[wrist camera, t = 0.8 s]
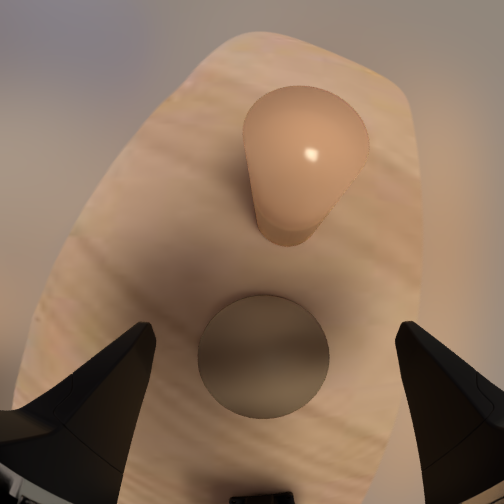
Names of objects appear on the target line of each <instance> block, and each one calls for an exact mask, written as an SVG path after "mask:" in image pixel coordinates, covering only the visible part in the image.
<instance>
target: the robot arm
mask: <svg viewBox="0 0 504 504" xmlns="http://www.w3.org/2000/svg"><path fill="white" fill-rule="evenodd" d="M395 345H396V350H397V356H398V361H399V367H400V373H401V378H402V382H403V386H404V390H405V393H406V397H407V401H408V405H409V409H410V413H411V418H412V422H413V427H414V432H415V436H416V441H417V447H418V452H419V458H420V463H421V470H422V479H423V486H424V495H425V504H504V391H502V390H501V389H500V388H498V387H497V386H495V385H494V384H493V383H491V382H490V381H489V380H487V379H486V378H485V377H484V376H482V375H481V374H480V373H479V372H477V371H476V370H475V369H474V368H473V367H471V366H470V365H469V364H468V363H466V362H465V361H464V360H462V359H461V358H460V357H459V356H458V355H456V354H455V353H454V352H452V351H451V350H450V349H449V348H447V347H446V346H445V345H444V344H442V343H441V342H439V341H438V340H437V339H436V338H434V337H433V336H432V335H431V334H429V333H428V332H426V331H425V330H424V329H423V328H421V327H420V326H419V325H417V324H416V323H415V322H413V321H405V322H402V323H401V325H400V328H399V331H398V333H397V335H396V338H395ZM155 348H156V337H155V334H154V331H153V328H152V325H151V324H150V323H149V322H138V323H137V324H135V325H134V326H133V327H132V328H130V329H129V330H128V331H126V332H125V333H124V334H122V335H121V336H120V337H118V338H117V339H116V340H115V341H113V342H112V343H111V344H109V345H108V346H107V347H105V348H104V349H103V350H102V351H100V352H99V353H98V354H96V355H95V356H94V357H92V358H91V359H90V360H89V361H87V362H86V363H85V364H83V365H82V366H81V367H80V368H78V369H77V370H76V371H74V372H73V374H70V375H69V376H68V377H67V378H65V379H64V380H63V381H61V382H60V383H59V384H57V385H56V386H55V387H53V388H52V389H50V390H49V391H47V392H46V393H44V394H42V395H41V396H39V397H38V398H36V399H35V400H33V401H31V402H30V403H28V404H27V405H25V406H23V407H22V408H19V409H16V410H11V411H4V410H2V411H1V410H0V504H117V501H118V496H119V491H120V487H121V482H122V478H123V473H124V469H125V465H126V461H127V457H128V453H129V449H130V445H131V441H132V437H133V434H134V430H135V426H136V423H137V419H138V416H139V412H140V409H141V405H142V402H143V399H144V395H145V392H146V389H147V385H148V382H149V378H150V373H151V368H152V363H153V358H154V353H155ZM287 496H289V497H287ZM234 501H235V502H234ZM229 504H295V502H294V497H293V494H292V493H290V492H286V493H279V494H271V495H261V496H249V497H232V498H230V499H229Z"/></svg>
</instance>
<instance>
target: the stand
mask: <svg viewBox="0 0 504 504" xmlns="http://www.w3.org/2000/svg"><path fill="white" fill-rule="evenodd" d="M198 366H199V371H200V375H201V378H202V380H203V382H204V385H205V386H206V388H207V390H208V391H209V393H210V394H211V395H212V396H213V397H214V398H215V399H216V400H217V401H218V402H219V403H220V404H221V405H223V406H224V407H225V408H227V409H229V410H230V411H232V412H234V413H237V414H239V415H242V416H246V417H249V418H256V419H270V418H277V417H281V416H285V415H287V414H290V413H292V412H294V411H296V410H298V409H300V408H301V407H303V406H304V405H305V404H307V403H308V402H309V401H310V400H311V399H312V398H313V397H314V396H315V395H316V394H317V392H318V391H319V389H320V388H321V386H322V384H323V382H324V380H325V378H326V375H327V371H328V367H329V347H328V343H327V339H326V336H325V334H324V332H323V330H322V328H321V326H320V325H319V323H318V322H317V321H316V319H315V318H314V317H313V316H312V315H311V314H310V313H309V312H308V311H306V310H305V309H304V308H303V307H301V306H299V305H297V304H296V303H294V302H292V301H289V300H287V299H284V298H281V297H277V296H270V295H260V296H252V297H248V298H244V299H241V300H239V301H236V302H234V303H232V304H230V305H228V306H227V307H225V308H224V309H222V310H221V311H220V312H219V313H218V314H217V315H216V316H214V318H213V319H212V320H211V321H210V322H209V324H208V325H207V327H206V329H205V330H204V332H203V335H202V337H201V340H200V344H199V349H198Z"/></svg>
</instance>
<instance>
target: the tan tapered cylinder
mask: <svg viewBox="0 0 504 504" xmlns="http://www.w3.org/2000/svg"><path fill="white" fill-rule="evenodd" d="M243 141H244V147H245V153H246V159H247V165H248V171H249V177H250V184H251V190H252V196H253V202H254V208H255V215H256V221H257V225H258V227H259V230H260V231H261V233H262V234H263V236H264V237H265V238H266V239H268V240H269V241H270V242H272V243H274V244H276V245H280V246H285V247H290V246H296V245H299V244H301V243H303V242H305V241H306V240H308V239H309V238H310V237H311V235H312V234H313V233H314V232H315V230H316V229H317V228H318V226H319V225H320V224H321V223H322V221H323V220H324V219H325V217H326V216H327V215H328V214H329V212H330V211H331V210H332V208H333V207H334V206H335V205H336V203H337V202H338V201H339V199H340V198H341V197H342V195H343V194H344V193H345V191H346V190H347V189H348V187H349V186H350V185H351V183H352V182H353V181H354V179H355V178H356V177H357V175H358V174H359V173H360V171H361V170H362V168H363V167H364V165H365V163H366V161H367V158H368V154H369V137H368V132H367V129H366V127H365V125H364V122H363V120H362V119H361V117H360V116H359V114H358V113H357V112H356V111H355V110H354V109H353V108H352V107H351V106H350V105H349V104H348V103H347V102H346V101H344V100H343V99H341V98H340V97H338V96H337V95H335V94H333V93H330V92H328V91H325V90H323V89H319V88H315V87H309V86H289V87H283V88H280V89H276V90H274V91H271V92H269V93H268V94H266V95H264V96H263V97H261V98H260V99H259V100H258V101H256V102H255V103H254V105H253V106H252V107H251V108H250V110H249V112H248V113H247V115H246V118H245V120H244V125H243Z"/></svg>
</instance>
